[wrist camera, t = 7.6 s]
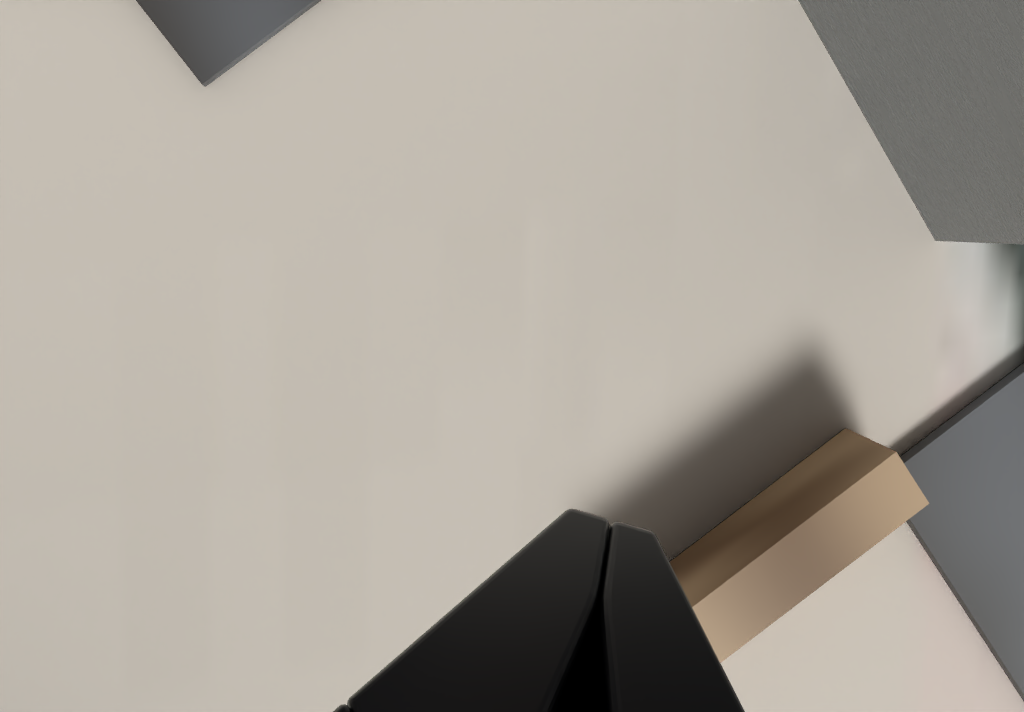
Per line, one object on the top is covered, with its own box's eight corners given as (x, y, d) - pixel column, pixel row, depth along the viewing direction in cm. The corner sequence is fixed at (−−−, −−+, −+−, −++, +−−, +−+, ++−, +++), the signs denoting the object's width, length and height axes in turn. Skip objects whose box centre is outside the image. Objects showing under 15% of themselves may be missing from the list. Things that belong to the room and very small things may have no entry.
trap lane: (832, 885, 21) (876, 952, 19) (-140, -353, 14) (-226, -445, 12) (1568, 321, 22) (1684, 331, 20) (992, -1186, 14) (1086, -1410, 12)
